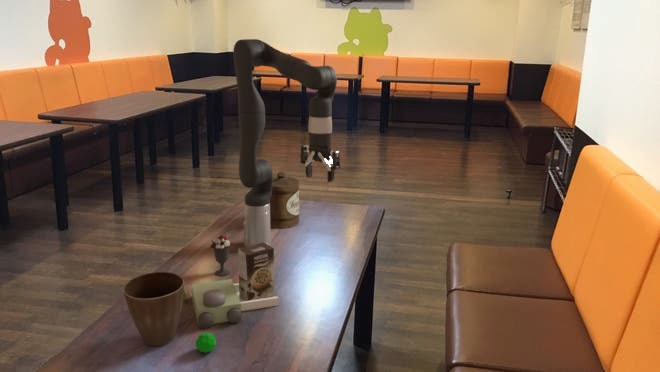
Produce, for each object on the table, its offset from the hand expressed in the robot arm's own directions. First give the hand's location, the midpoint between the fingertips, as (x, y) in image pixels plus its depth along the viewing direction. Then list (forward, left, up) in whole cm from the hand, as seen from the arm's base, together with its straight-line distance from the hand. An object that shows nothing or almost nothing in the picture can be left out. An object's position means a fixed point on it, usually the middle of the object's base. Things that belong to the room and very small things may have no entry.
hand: (319, 179), depth 177 cm
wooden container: (-40, +27, -32) cm, 58 cm away
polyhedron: (+6, -56, -32) cm, 65 cm away
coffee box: (-3, -28, -32) cm, 42 cm away
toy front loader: (-4, -35, -32) cm, 48 cm away
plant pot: (-8, -60, -32) cm, 69 cm away
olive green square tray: (-23, -44, -33) cm, 59 cm away
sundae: (-24, -22, -32) cm, 46 cm away
